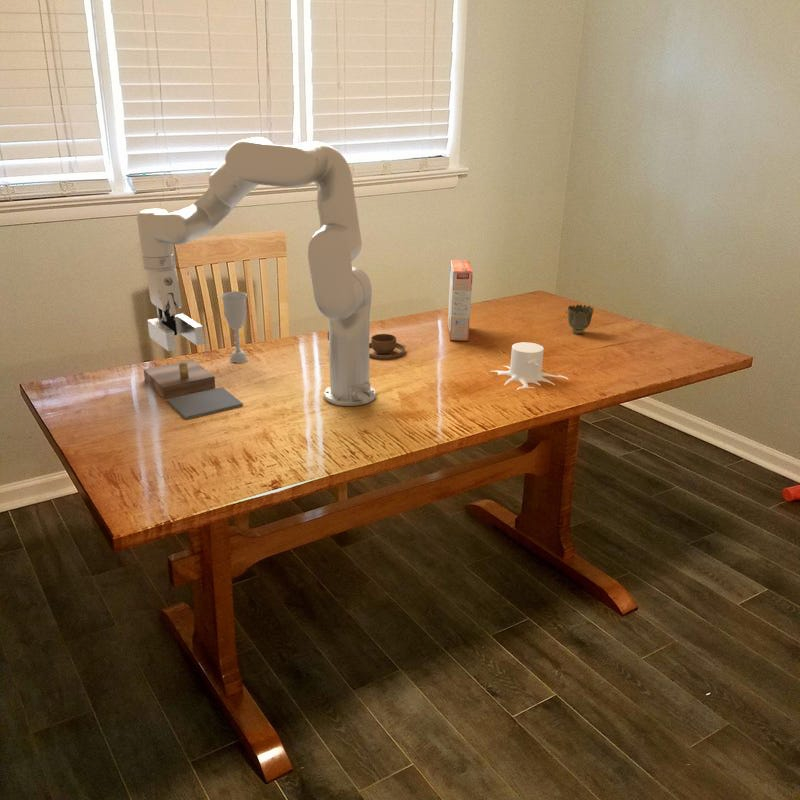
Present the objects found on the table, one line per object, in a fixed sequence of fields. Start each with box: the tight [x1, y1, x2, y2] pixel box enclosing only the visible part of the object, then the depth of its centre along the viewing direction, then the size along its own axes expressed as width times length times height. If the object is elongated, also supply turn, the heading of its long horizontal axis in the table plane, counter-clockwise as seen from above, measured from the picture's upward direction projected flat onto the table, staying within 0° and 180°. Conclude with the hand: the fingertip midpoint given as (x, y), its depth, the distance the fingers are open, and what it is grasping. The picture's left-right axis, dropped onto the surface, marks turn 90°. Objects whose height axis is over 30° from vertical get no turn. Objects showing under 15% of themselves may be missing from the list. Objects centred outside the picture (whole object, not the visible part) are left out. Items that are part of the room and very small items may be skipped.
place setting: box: [327, 331, 407, 360], centre depth 223 cm, size 18×20×6 cm
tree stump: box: [491, 341, 569, 390], centre depth 206 cm, size 20×19×8 cm
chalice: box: [220, 291, 249, 364], centre depth 212 cm, size 7×7×18 cm
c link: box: [147, 312, 205, 352], centre depth 194 cm, size 13×9×4 cm
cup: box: [567, 303, 594, 335], centre depth 239 cm, size 8×7×8 cm
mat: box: [166, 386, 244, 420], centre depth 188 cm, size 12×14×1 cm
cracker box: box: [447, 259, 474, 342], centre depth 234 cm, size 14×6×21 cm, turn 179°
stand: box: [143, 359, 216, 399], centre depth 198 cm, size 14×13×6 cm
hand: (168, 333), depth 199 cm, fingers closed on c link, 2 cm apart
